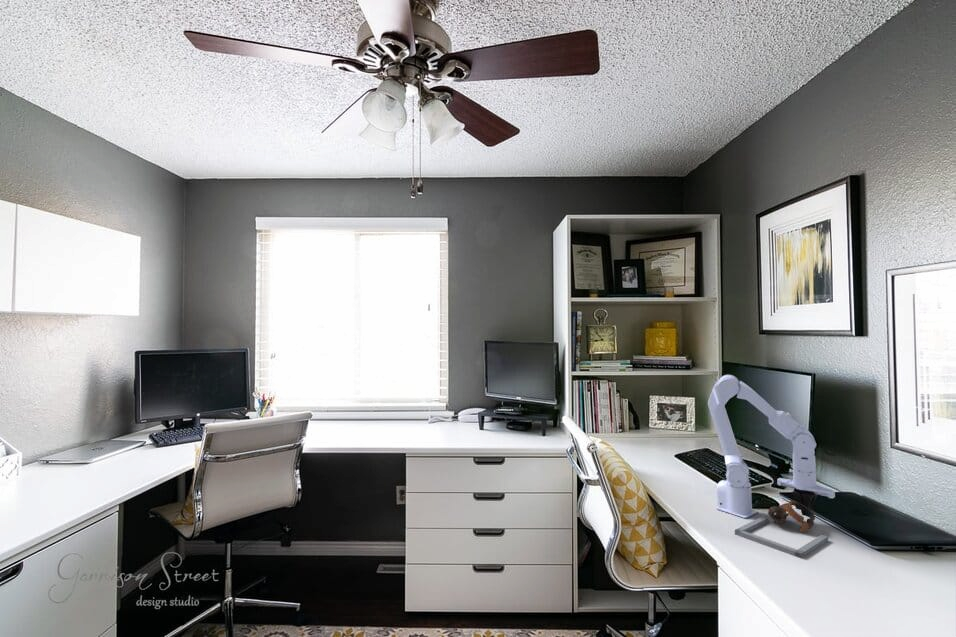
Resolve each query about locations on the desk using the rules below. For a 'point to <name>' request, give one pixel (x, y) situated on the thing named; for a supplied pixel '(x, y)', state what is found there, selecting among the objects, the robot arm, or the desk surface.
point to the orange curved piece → (792, 514)
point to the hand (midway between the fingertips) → (806, 514)
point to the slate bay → (799, 553)
